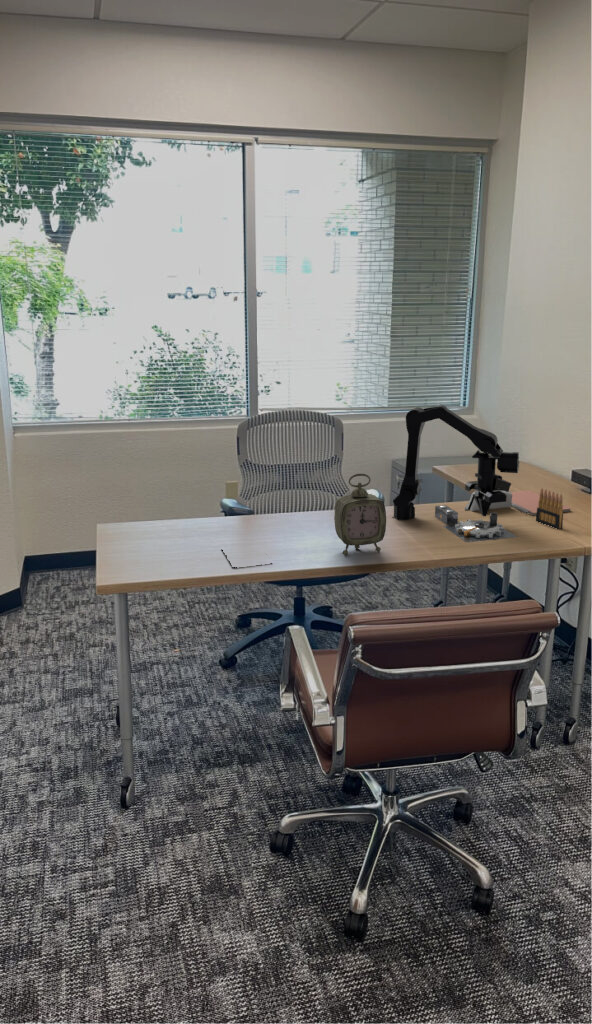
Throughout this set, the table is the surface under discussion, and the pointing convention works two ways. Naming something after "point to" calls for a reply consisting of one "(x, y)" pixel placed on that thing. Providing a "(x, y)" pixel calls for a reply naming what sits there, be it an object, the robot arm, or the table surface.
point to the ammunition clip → (550, 509)
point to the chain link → (446, 514)
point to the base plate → (473, 538)
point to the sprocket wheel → (480, 527)
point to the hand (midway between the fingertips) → (484, 516)
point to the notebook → (528, 502)
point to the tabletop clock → (360, 517)
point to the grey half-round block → (474, 507)
